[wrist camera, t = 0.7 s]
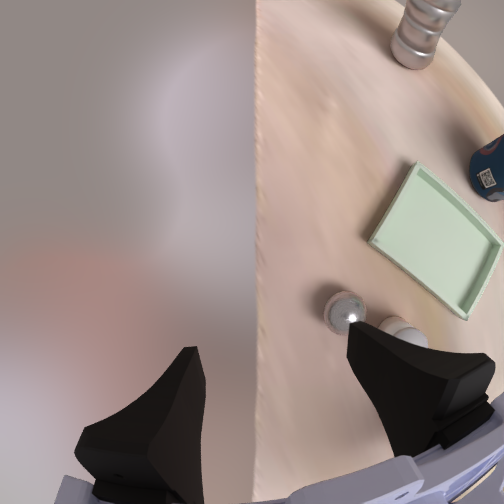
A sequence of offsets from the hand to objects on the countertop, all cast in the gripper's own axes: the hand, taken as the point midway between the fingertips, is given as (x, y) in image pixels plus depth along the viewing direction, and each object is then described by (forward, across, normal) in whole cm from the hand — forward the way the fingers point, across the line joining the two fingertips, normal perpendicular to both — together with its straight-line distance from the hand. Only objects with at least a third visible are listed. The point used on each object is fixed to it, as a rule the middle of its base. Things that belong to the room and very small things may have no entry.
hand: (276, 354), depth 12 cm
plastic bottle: (+20, -26, -25) cm, 41 cm away
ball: (+13, -9, +6) cm, 17 cm away
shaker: (+13, -15, +10) cm, 22 cm away
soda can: (+14, -32, -7) cm, 35 cm away
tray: (+14, -22, 0) cm, 26 cm away
